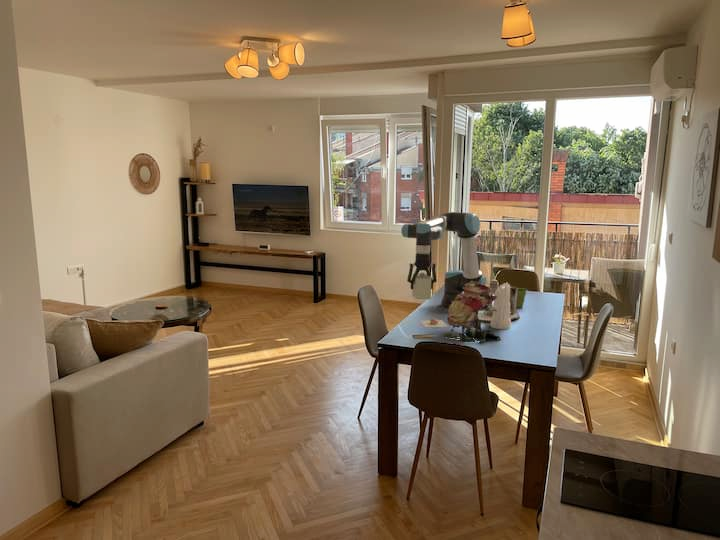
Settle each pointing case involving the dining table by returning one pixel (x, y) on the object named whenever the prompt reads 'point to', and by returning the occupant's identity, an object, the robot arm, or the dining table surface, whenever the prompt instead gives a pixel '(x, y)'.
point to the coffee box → (513, 298)
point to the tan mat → (423, 336)
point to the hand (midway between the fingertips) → (421, 295)
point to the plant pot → (520, 297)
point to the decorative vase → (502, 308)
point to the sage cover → (422, 286)
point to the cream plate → (440, 324)
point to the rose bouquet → (470, 312)
